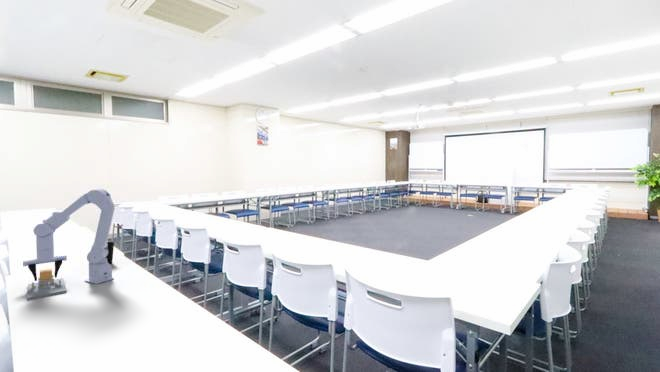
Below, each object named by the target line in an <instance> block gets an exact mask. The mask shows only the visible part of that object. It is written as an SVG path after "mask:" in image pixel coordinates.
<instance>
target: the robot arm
mask: <svg viewBox="0 0 660 372" xmlns="http://www.w3.org/2000/svg"><path fill="white" fill-rule="evenodd" d="M88 204H93V205H95V206H96V207H98V208H99V209H100V216H99V220H98V224H97V228H96V233H95V237H94V242H93V244H92V246H91V249H90V251H89V252H88V253H87V255H86V259H87V262H88V279H85V280H84V282H86V283H91V284H95V285H99V284H102V283H105V282H107V281H112V280H114V279H115V278H114V277H113V267H112V264H109V263H108V262H107V258H106V256H107V255H108V249H107V246H108V244H107V242H108V239H109V235H110V231H111V228H112V227H111V225H112V221H113V217H114V213H115V209H116V208H115V207H116V206H115V204H114V202H113V200H112V197H111V194H110V193H109V192H108V191H107V190H106V189H103V188H97V189H92V190H89V191H88V192H87V193H84V194H83V195H81V196H80V197H78V198H77V199H76V200H75V201H73V203H71V204H70V205H69V206H68V207H66V208H65V209H64V210H57V211H53V212H52V213H51V215H50V217H48V218H47V219H43V220H42V223H39V224H37V225H36V226H35V227H34V228H33V233H34V235H35V237H36V241H35V242H36V244H35V245H36V258H35V259H29V260H24V261H22V267H27V268H28V269H29V271H30V272H31V274H32V275H33V279H34V282H37V281H38V276H37V265H41V264H48V263H54V278H57V277H58V274H59V270H60V268H61V266H62V264H63V261H67V258H68V257H67V255H59V256H55V252H54V249H55V248H54V247H55V246H54V233H55V232H56V231H57V229H59V228H60V227H61V226H63V225H64V224H65V223H67V222H68V221H70V218H71V217H70V216H71V215H72V214H74V213H76V212H77V211H78V210H79V209H81V208H82V207H84V206H85V205H88Z"/></svg>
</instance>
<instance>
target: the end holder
mask: <svg viewBox="0 0 660 372" xmlns="http://www.w3.org/2000/svg"><path fill="white" fill-rule="evenodd" d="M54 280H55V277H54V275H53V274H52V279H46V280H45V281H46V285H48V282H50V285H51V284H54ZM37 281H38V282H39V287H40V286H43V281H44V280H40V276H37Z"/></svg>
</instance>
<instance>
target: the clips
mask: <svg viewBox="0 0 660 372" xmlns="http://www.w3.org/2000/svg"><path fill="white" fill-rule="evenodd" d="M34 283H35V281H34V282H31V284H32V289H34ZM43 286H44V287H46V281H45V280H44V281H43ZM60 286H61V280H59V287H60ZM49 288H50V282H48V289H49Z"/></svg>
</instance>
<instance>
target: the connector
mask: <svg viewBox="0 0 660 372" xmlns="http://www.w3.org/2000/svg"><path fill="white" fill-rule="evenodd" d="M52 275H53V269H52V268H46V269H40V270H39V277H40V280H46V279H52Z"/></svg>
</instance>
